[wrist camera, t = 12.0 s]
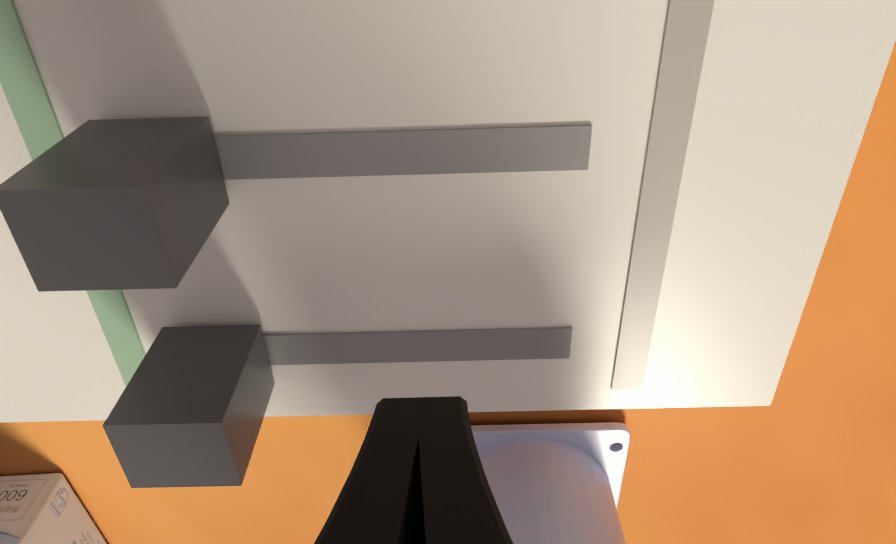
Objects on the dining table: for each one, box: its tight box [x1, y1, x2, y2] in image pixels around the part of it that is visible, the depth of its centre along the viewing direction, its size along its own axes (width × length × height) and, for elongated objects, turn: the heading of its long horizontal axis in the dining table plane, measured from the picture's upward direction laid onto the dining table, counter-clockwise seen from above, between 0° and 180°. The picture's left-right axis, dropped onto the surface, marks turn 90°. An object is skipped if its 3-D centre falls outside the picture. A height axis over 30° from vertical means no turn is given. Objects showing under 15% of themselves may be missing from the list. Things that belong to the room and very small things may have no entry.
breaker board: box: [0, 0, 896, 422], centre depth 17 cm, size 19×28×2 cm
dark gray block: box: [0, 116, 230, 292], centre depth 15 cm, size 2×3×4 cm
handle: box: [103, 325, 275, 488], centre depth 18 cm, size 2×3×4 cm
